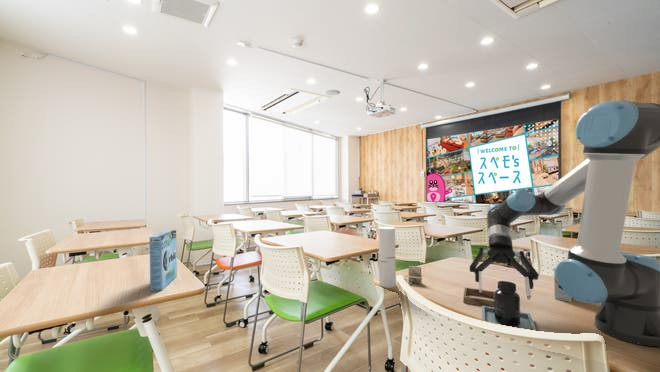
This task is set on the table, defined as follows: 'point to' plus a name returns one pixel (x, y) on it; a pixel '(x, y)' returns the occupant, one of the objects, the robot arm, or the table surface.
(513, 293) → the supplement bottle
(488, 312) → the tray
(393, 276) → the cylindrical container
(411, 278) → the architectural model
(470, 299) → the frame
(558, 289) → the ink box
